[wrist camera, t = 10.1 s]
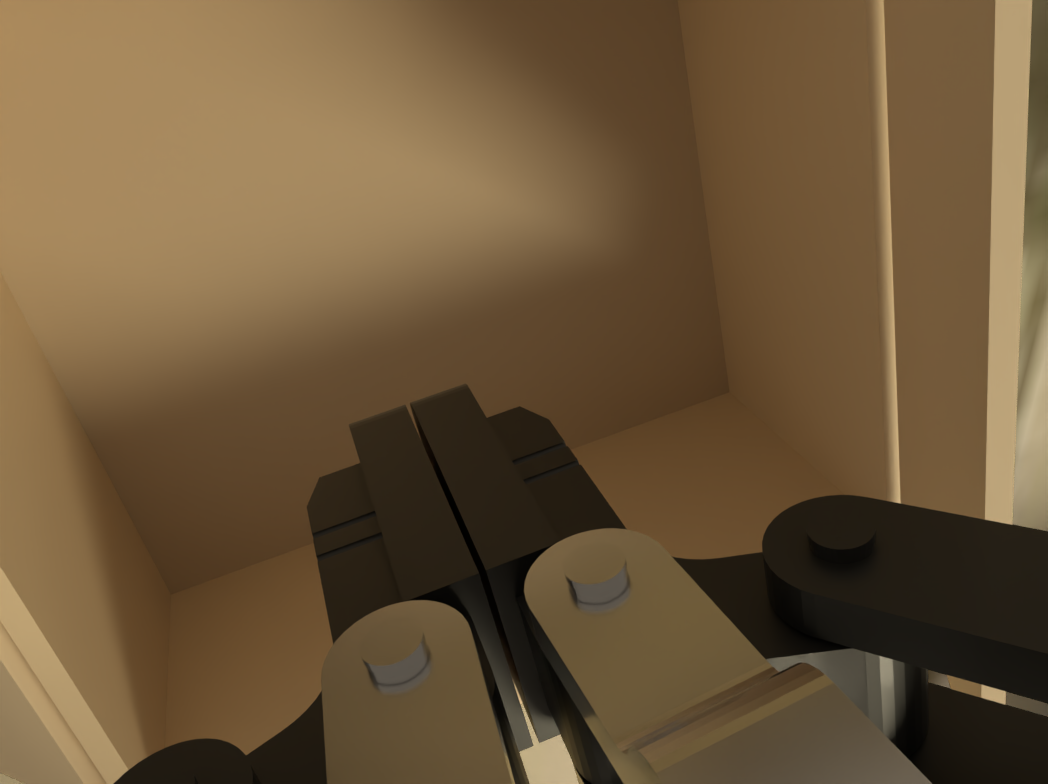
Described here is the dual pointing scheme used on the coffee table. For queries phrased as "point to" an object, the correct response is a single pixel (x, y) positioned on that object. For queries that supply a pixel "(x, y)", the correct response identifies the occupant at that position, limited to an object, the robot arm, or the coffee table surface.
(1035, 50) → the coffee table surface
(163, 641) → the carton
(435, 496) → the robot arm
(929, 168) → the flap
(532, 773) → the coffee table surface
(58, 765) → the flap
